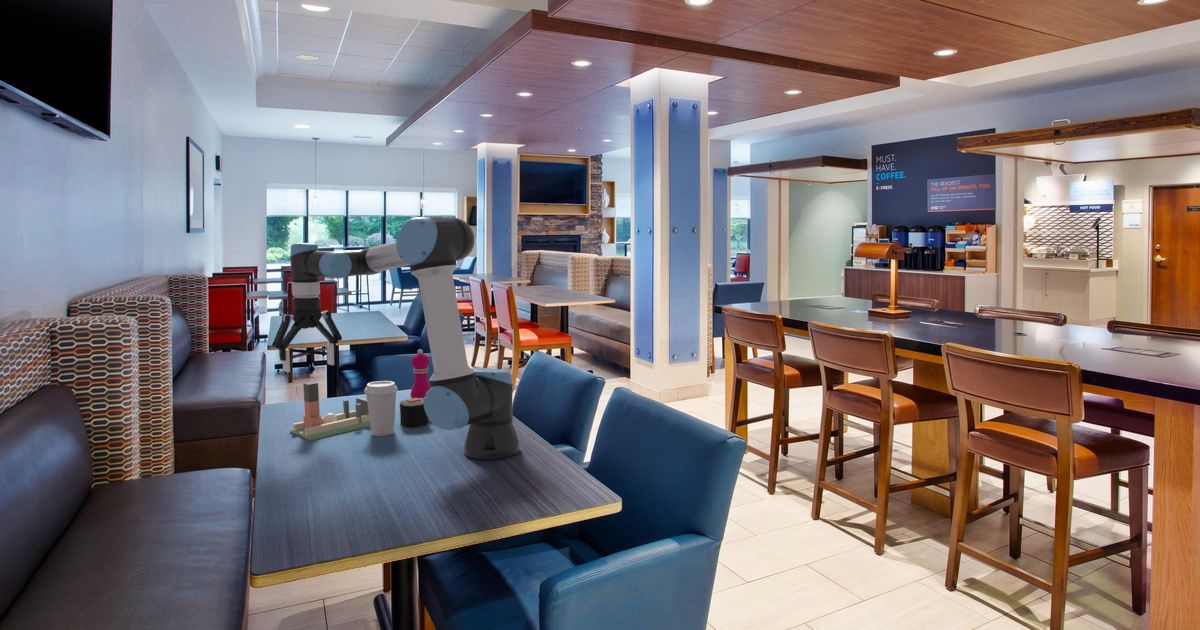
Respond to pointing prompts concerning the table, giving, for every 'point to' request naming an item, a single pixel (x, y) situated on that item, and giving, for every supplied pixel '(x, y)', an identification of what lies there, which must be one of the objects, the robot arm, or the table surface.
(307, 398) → the black and red block
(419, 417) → the sushi
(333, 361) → the robot arm
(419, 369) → the pepper mill
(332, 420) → the ball
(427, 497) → the table surface
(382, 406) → the coffee cup
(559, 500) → the table surface
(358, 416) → the pitch
